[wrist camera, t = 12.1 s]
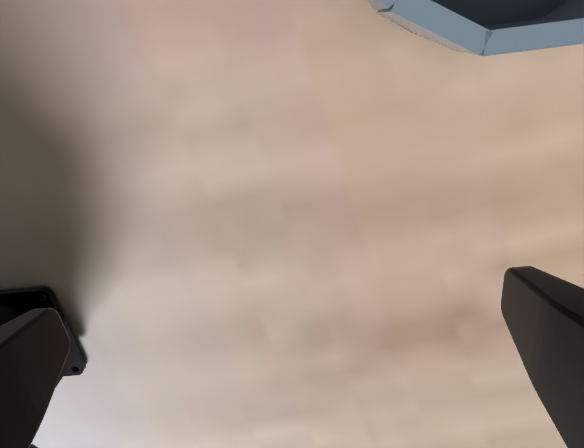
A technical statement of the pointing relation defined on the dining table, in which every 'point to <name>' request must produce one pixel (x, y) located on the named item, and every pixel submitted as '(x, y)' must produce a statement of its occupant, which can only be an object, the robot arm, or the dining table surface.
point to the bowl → (489, 23)
